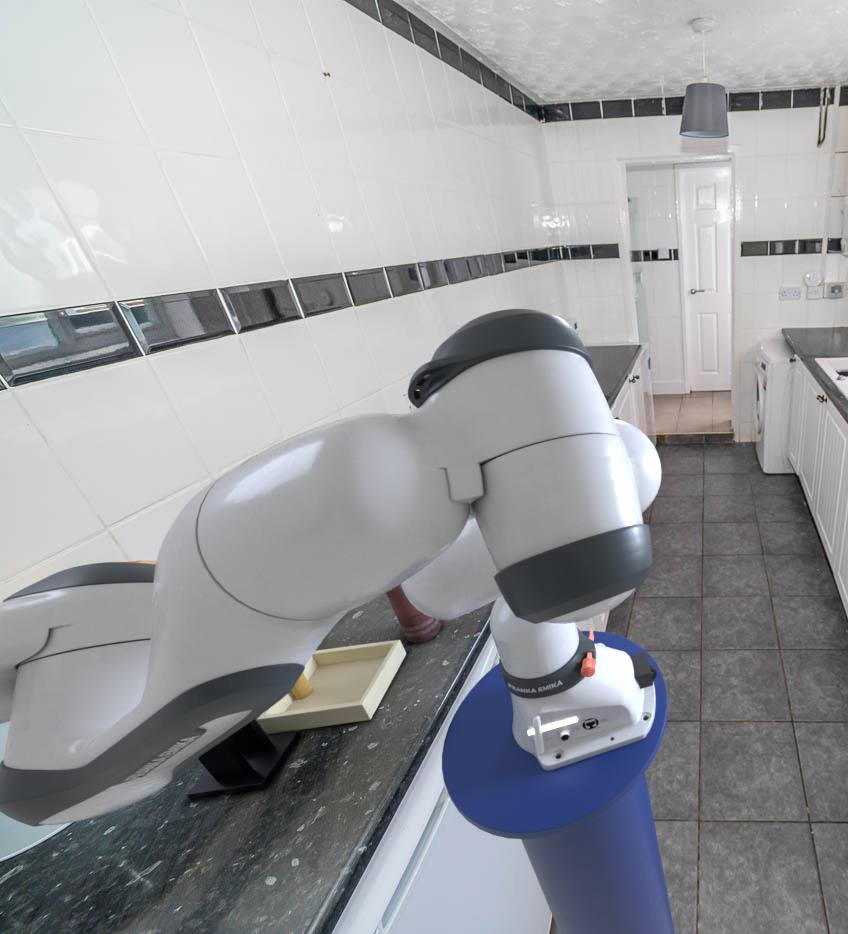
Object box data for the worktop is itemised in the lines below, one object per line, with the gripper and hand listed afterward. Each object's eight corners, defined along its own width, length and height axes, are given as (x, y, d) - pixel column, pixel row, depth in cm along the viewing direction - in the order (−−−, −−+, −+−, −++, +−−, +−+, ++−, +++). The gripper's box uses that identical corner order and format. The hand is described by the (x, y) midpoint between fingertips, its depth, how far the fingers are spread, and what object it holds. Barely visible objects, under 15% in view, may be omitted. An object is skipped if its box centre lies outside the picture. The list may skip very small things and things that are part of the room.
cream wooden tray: (406, 653, 90) (400, 639, 88) (370, 719, 77) (362, 704, 76) (318, 665, 88) (309, 651, 87) (267, 734, 76) (256, 719, 75)
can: (427, 617, 98) (404, 561, 92) (448, 625, 95) (426, 569, 89) (399, 638, 93) (372, 581, 87) (421, 648, 90) (395, 589, 84)
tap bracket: (301, 736, 76) (260, 674, 69) (266, 788, 68) (217, 724, 62) (233, 746, 75) (185, 684, 69) (190, 800, 68) (133, 736, 61)
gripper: (-21, 712, 44) (139, 694, 57) (219, 680, 46) (321, 669, 59) (2, 640, 46) (151, 638, 59) (230, 611, 48) (327, 616, 61)
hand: (237, 653), depth 59 cm, fingers closed
